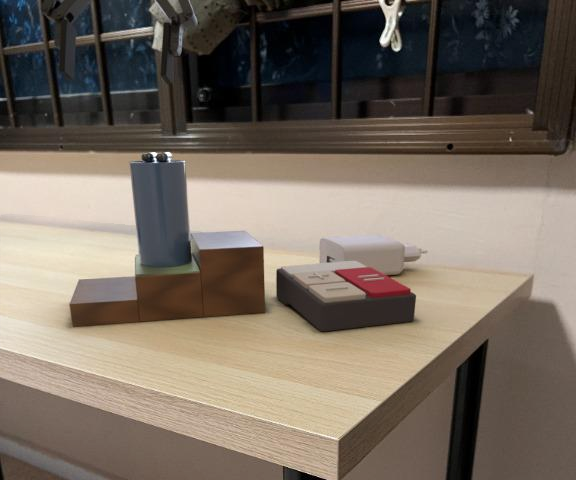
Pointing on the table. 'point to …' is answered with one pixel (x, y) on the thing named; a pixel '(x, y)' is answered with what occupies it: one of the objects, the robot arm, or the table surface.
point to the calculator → (344, 295)
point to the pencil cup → (161, 210)
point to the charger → (369, 252)
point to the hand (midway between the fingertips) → (116, 78)
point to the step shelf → (180, 285)
